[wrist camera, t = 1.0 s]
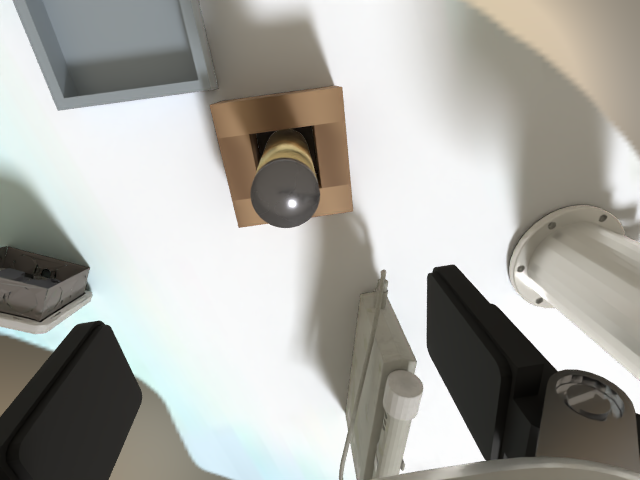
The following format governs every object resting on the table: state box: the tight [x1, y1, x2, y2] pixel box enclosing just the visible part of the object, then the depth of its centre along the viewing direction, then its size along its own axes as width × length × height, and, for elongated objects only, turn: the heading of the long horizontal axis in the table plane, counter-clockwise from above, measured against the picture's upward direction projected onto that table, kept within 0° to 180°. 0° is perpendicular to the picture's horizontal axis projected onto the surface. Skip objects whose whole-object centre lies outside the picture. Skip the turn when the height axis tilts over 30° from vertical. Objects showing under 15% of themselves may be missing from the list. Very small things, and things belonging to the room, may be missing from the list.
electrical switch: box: [0, 246, 92, 334], centre depth 32 cm, size 9×5×9 cm, turn 69°
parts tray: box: [13, 0, 218, 111], centre depth 27 cm, size 12×12×3 cm
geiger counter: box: [339, 270, 423, 480], centre depth 37 cm, size 14×6×25 cm
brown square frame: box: [210, 86, 353, 228], centre depth 31 cm, size 10×10×5 cm
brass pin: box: [250, 129, 320, 228], centre depth 27 cm, size 4×4×14 cm
